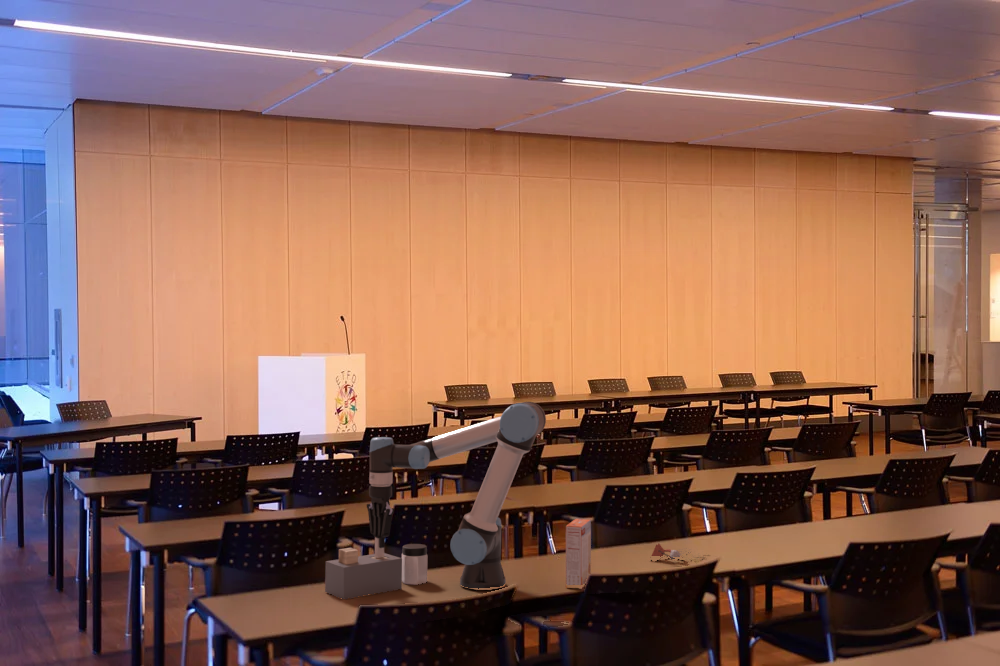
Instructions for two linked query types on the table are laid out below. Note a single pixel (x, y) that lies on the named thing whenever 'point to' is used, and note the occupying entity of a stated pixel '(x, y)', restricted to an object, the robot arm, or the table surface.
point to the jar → (414, 564)
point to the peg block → (363, 576)
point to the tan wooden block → (348, 556)
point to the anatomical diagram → (660, 551)
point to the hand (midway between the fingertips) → (379, 557)
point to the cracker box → (578, 551)
